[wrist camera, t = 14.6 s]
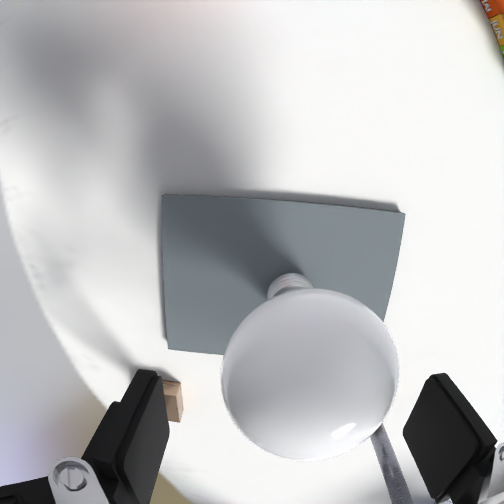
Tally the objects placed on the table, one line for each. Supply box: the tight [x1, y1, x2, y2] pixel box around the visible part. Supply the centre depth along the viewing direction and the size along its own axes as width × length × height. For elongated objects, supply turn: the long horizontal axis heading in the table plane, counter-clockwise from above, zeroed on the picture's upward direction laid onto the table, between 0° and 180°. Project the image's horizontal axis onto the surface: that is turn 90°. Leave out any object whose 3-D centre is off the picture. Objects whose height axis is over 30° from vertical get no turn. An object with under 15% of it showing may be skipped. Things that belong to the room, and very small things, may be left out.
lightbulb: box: [221, 273, 399, 461], centre depth 12 cm, size 6×6×11 cm
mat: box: [162, 194, 405, 355], centre depth 18 cm, size 10×14×1 cm
